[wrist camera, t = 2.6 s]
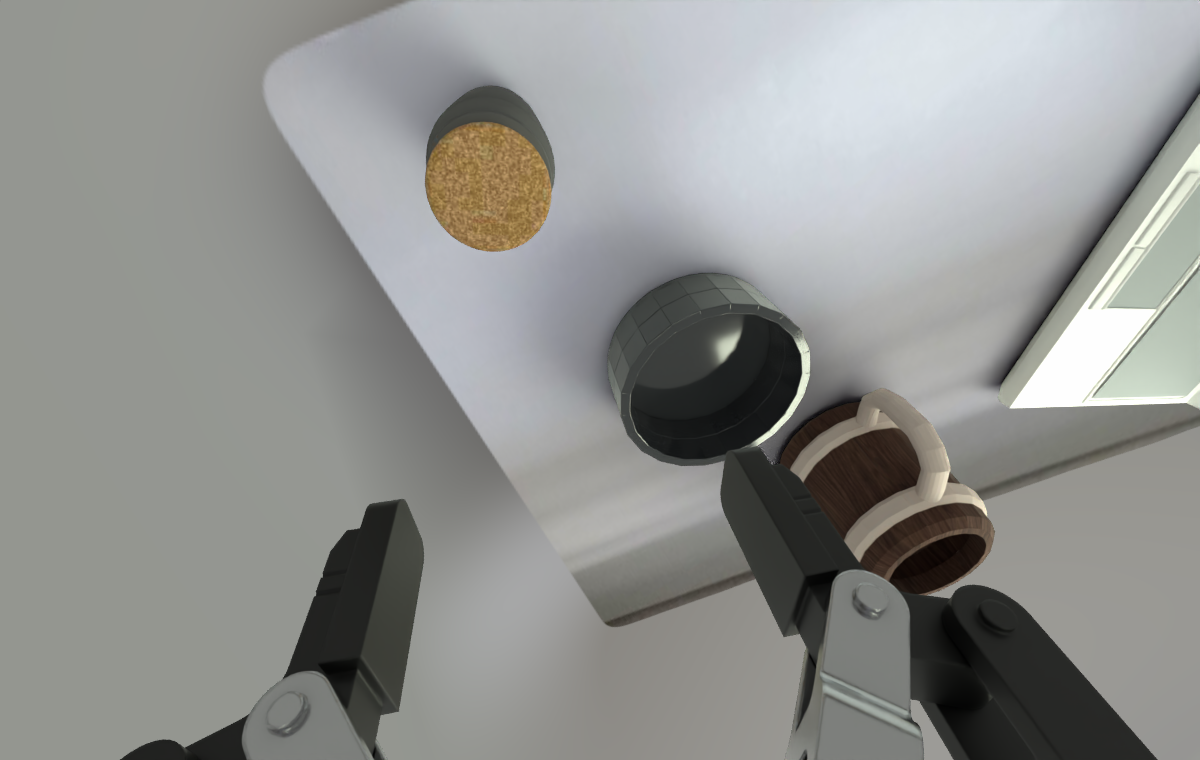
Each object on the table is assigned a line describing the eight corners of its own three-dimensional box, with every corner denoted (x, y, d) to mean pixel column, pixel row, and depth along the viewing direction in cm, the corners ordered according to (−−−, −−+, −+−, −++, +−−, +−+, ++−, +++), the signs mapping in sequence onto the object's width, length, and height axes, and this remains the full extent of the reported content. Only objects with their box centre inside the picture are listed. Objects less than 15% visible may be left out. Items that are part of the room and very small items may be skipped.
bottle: (554, 110, 30) (588, 144, 18) (525, 200, 32) (537, 284, 20) (461, 66, 28) (426, 71, 16) (438, 166, 30) (394, 237, 18)
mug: (888, 477, 57) (992, 590, 45) (770, 508, 57) (843, 631, 45) (924, 340, 46) (1077, 441, 34) (777, 377, 45) (877, 493, 33)
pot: (607, 432, 46) (619, 477, 41) (606, 279, 37) (622, 313, 32) (758, 414, 48) (787, 454, 43) (792, 265, 39) (833, 294, 34)
